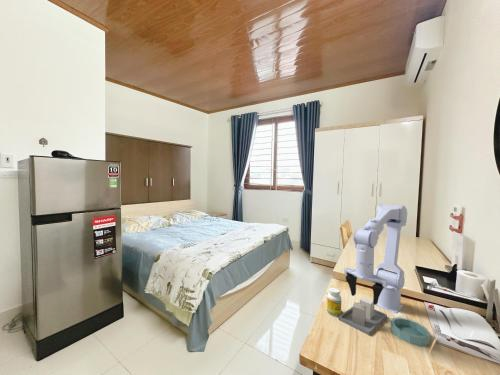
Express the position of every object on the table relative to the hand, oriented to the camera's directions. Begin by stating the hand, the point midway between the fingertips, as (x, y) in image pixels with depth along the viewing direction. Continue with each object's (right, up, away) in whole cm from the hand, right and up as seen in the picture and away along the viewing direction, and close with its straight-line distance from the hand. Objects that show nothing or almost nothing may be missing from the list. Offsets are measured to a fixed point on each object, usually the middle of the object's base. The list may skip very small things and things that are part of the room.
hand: (364, 299), depth 79 cm
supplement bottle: (-8, -10, +7) cm, 15 cm away
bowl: (+13, -10, -4) cm, 18 cm away
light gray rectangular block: (-1, -10, +2) cm, 10 cm away
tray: (+2, -10, +4) cm, 11 cm away
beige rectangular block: (+4, -10, +6) cm, 12 cm away
